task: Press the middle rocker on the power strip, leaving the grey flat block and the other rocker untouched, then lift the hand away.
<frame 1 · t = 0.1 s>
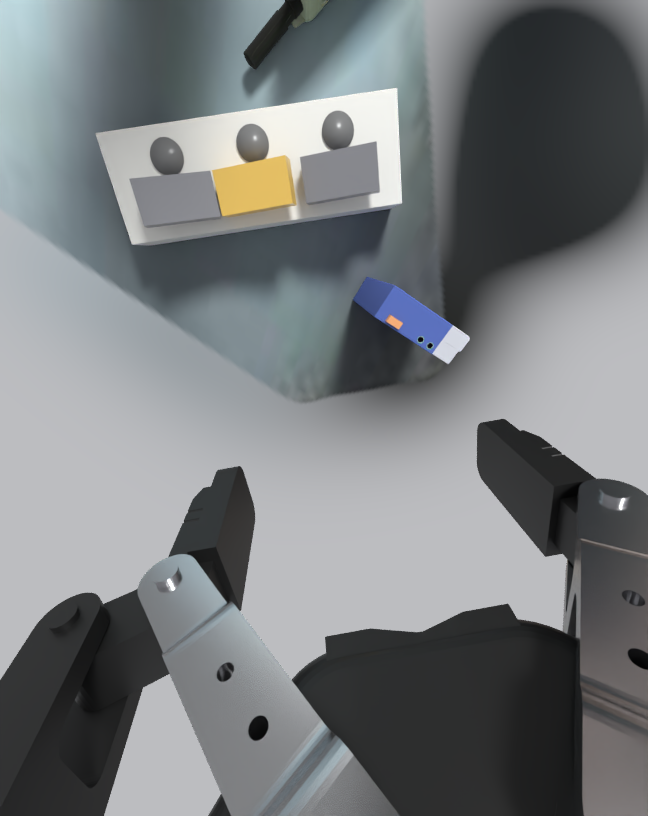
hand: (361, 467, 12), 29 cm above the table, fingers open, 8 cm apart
rocker 3: (340, 175, 28), point 6 cm above the table, hinge at 12.0°
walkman: (388, 306, 39), on the table
grey flat block 1: (177, 200, 28), point 6 cm above the table, hinge at -12.0°
rocker 2: (255, 188, 28), point 6 cm above the table, hinge at 12.0°
power strip: (262, 179, 33), on the table
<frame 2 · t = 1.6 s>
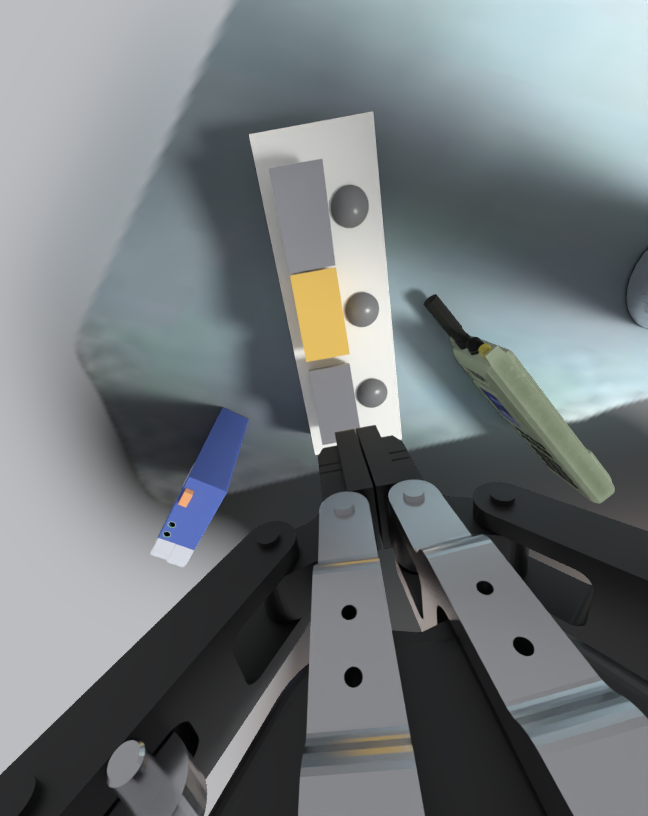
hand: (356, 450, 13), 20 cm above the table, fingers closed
rocker 3: (335, 403, 28), point 6 cm above the table, hinge at 12.0°
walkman: (220, 442, 35), on the table
handheld radio: (498, 388, 35), on the table
grey flat block 1: (303, 219, 23), point 6 cm above the table, hinge at -12.0°
rocker 2: (320, 316, 25), point 6 cm above the table, hinge at 12.0°
power strip: (334, 307, 31), on the table
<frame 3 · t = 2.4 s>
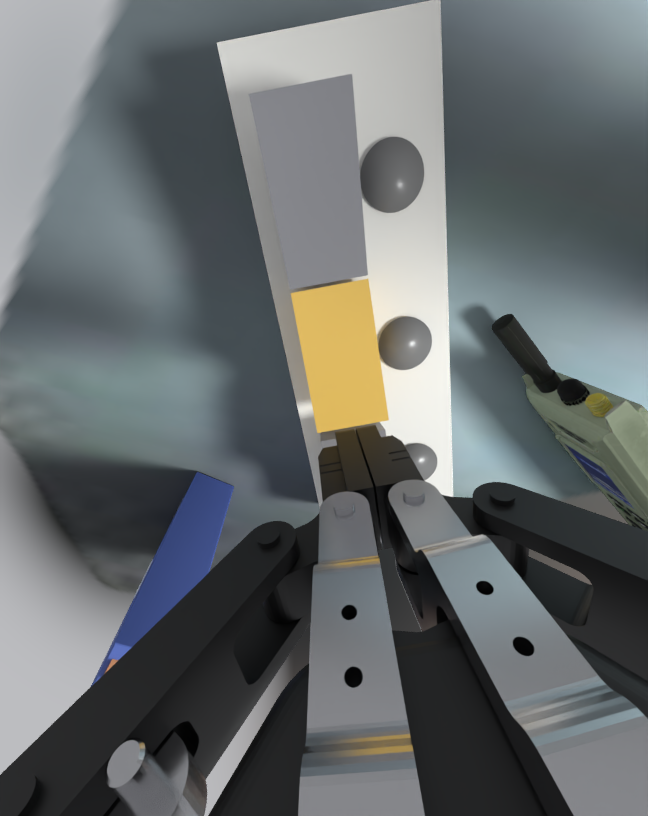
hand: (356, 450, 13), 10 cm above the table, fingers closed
rocker 3: (360, 485, 18), point 6 cm above the table, hinge at 12.0°
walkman: (196, 515, 26), on the table
handheld radio: (584, 440, 25), on the table
grey flat block 1: (314, 195, 13), point 6 cm above the table, hinge at -12.0°
rocker 2: (340, 358, 16), point 6 cm above the table, hinge at 12.0°
power strip: (356, 333, 21), on the table
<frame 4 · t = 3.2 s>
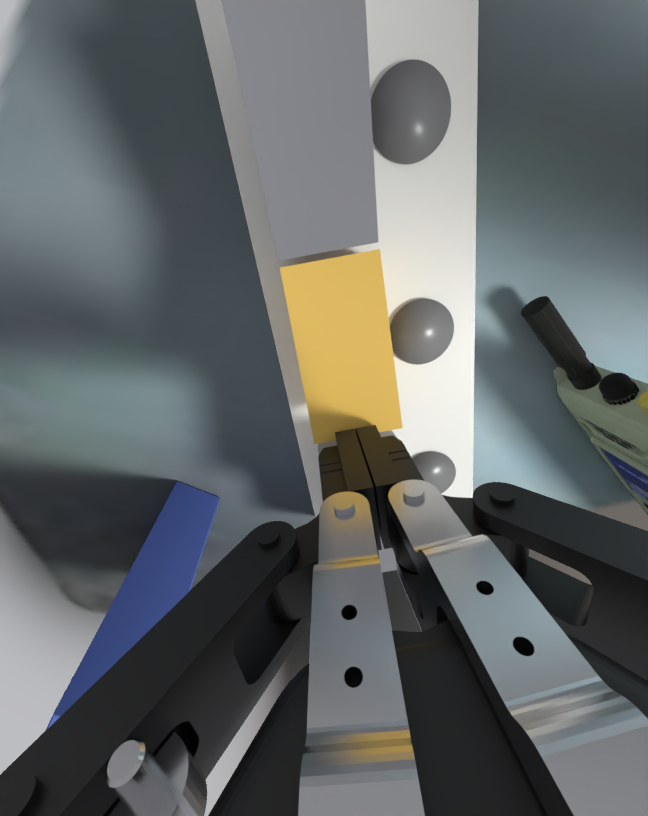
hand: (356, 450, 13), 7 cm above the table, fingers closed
rocker 3: (365, 502, 15), point 6 cm above the table, hinge at 12.0°
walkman: (178, 530, 23), on the table
handheld radio: (619, 443, 22), on the table
grey flat block 1: (310, 133, 10), point 6 cm above the table, hinge at -12.0°
rocker 2: (342, 350, 13), point 6 cm above the table, hinge at 9.9°, touching gripper
power strip: (360, 321, 18), on the table
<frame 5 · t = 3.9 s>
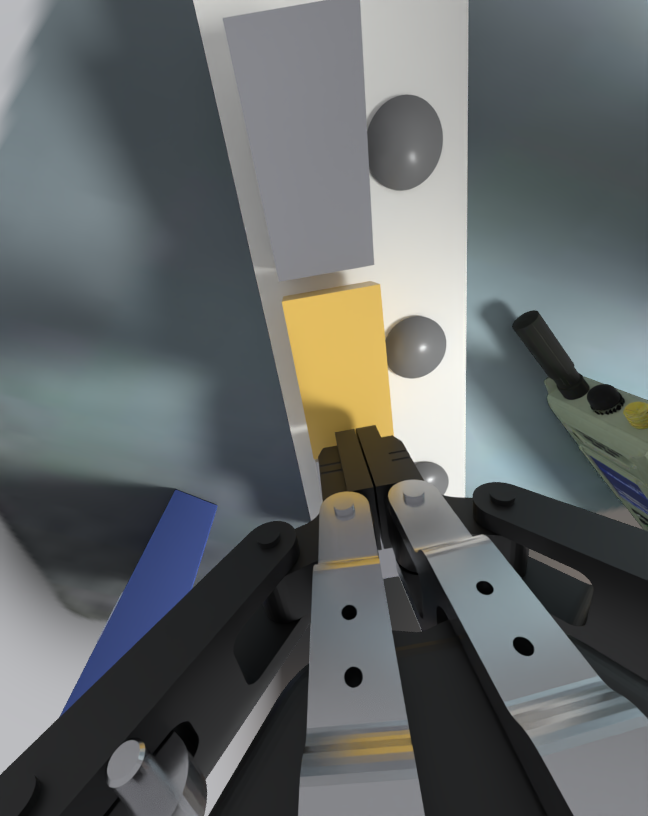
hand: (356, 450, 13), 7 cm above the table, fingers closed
rocker 3: (361, 511, 16), point 6 cm above the table, hinge at 12.0°
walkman: (176, 537, 23), on the table
handheld radio: (607, 450, 23), on the table
grey flat block 1: (309, 163, 10), point 6 cm above the table, hinge at -12.0°
rocker 2: (341, 373, 13), point 6 cm above the table, hinge at 0.1°
power strip: (356, 335, 18), on the table
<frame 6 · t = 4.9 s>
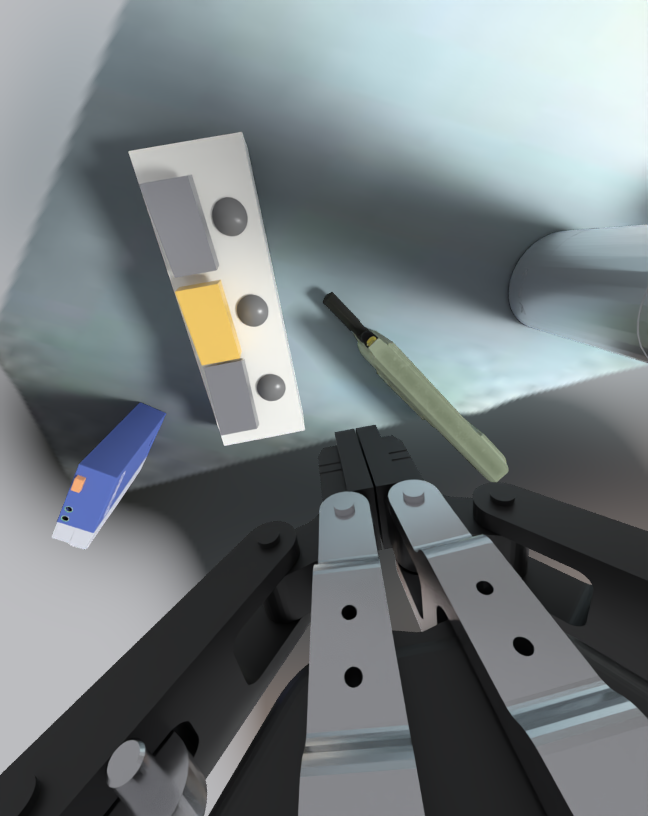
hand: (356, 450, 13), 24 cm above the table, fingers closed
rocker 3: (232, 397, 31), point 6 cm above the table, hinge at 12.0°
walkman: (142, 436, 38), on the table
handheld radio: (405, 378, 38), on the table
grey flat block 1: (182, 228, 25), point 6 cm above the table, hinge at -12.0°
rocker 2: (211, 323, 28), point 6 cm above the table, hinge at -7.5°
power strip: (237, 307, 33), on the table
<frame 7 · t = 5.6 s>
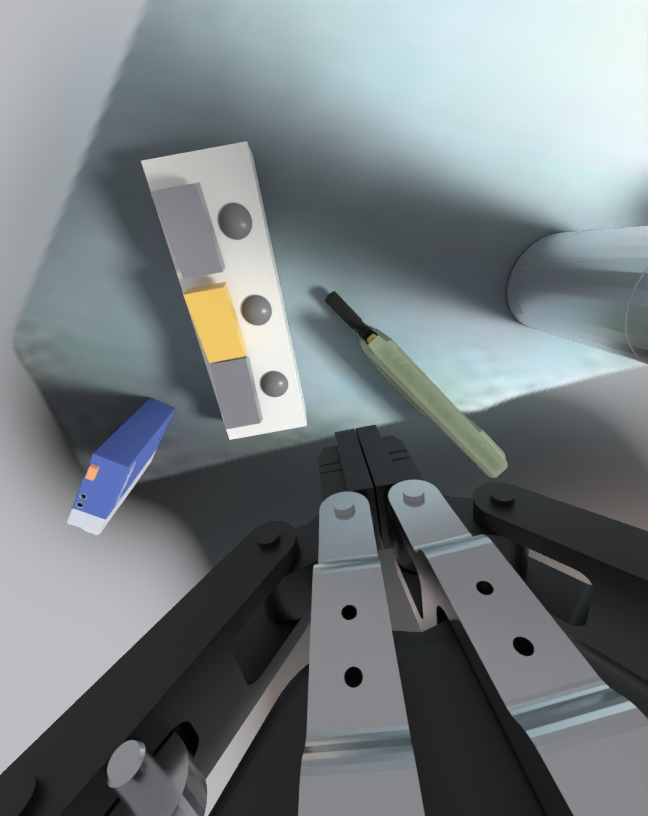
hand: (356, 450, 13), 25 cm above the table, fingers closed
rocker 3: (237, 392, 32), point 6 cm above the table, hinge at 12.0°
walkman: (152, 430, 39), on the table
handheld radio: (407, 375, 39), on the table
grey flat block 1: (191, 232, 27), point 6 cm above the table, hinge at -12.0°
rocker 2: (217, 323, 30), point 6 cm above the table, hinge at -10.9°
power strip: (243, 307, 34), on the table
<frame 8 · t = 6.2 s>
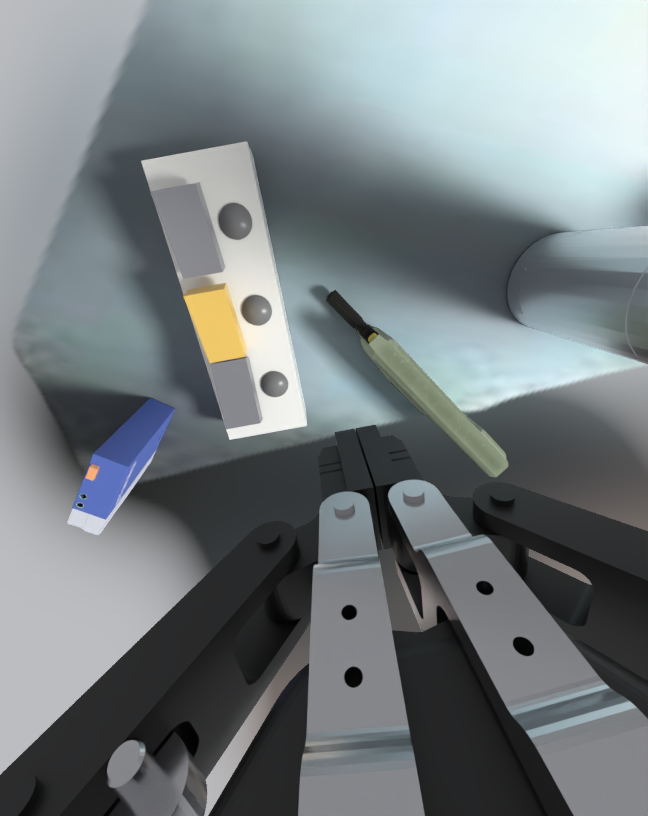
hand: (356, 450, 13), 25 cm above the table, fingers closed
rocker 3: (237, 392, 32), point 6 cm above the table, hinge at 12.0°
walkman: (152, 430, 39), on the table
handheld radio: (407, 374, 39), on the table
grey flat block 1: (191, 232, 27), point 6 cm above the table, hinge at -12.0°
rocker 2: (217, 324, 30), point 6 cm above the table, hinge at -13.0°
power strip: (243, 307, 34), on the table
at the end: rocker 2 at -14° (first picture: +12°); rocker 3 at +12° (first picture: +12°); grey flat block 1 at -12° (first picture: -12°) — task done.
